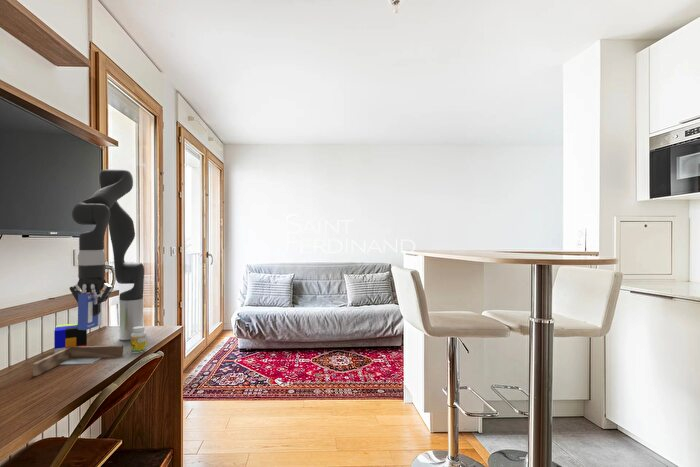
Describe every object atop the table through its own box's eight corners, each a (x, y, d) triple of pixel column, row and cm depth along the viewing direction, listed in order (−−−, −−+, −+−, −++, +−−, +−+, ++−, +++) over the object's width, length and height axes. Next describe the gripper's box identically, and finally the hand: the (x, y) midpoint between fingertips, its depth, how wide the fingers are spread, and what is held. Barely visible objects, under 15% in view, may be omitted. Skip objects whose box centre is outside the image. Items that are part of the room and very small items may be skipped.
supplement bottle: (148, 352, 155) (148, 327, 155) (133, 355, 151) (133, 329, 151) (143, 349, 158) (143, 325, 158) (128, 352, 154) (128, 327, 154)
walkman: (85, 330, 129) (86, 293, 129) (77, 330, 129) (78, 293, 129) (102, 324, 137) (102, 289, 137) (94, 324, 137) (95, 289, 137)
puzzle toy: (54, 357, 147) (54, 330, 147) (56, 351, 156) (56, 325, 156) (86, 353, 153) (86, 327, 153) (86, 347, 161) (86, 322, 161)
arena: (69, 357, 148) (69, 346, 148) (123, 356, 149) (123, 345, 149) (33, 375, 129) (33, 363, 129) (94, 374, 130) (94, 362, 130)
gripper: (119, 262, 137) (119, 312, 137) (76, 262, 136) (77, 313, 136) (107, 264, 130) (107, 317, 130) (62, 264, 129) (63, 318, 129)
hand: (92, 315), depth 133 cm, fingers closed on walkman, 2 cm apart
